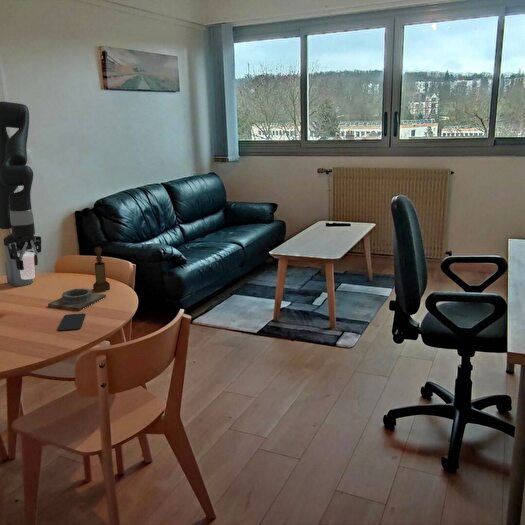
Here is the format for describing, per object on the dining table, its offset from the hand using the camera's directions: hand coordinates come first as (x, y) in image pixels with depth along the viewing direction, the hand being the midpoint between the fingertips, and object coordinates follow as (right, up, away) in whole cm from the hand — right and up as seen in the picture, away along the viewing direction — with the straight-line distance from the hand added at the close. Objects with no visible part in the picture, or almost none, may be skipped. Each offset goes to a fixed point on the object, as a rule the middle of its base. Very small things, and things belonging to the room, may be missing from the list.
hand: (27, 267), depth 191 cm
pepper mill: (+20, -9, +24) cm, 32 cm away
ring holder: (+15, -13, +9) cm, 22 cm away
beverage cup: (0, -4, +1) cm, 4 cm away
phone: (+20, -19, -11) cm, 30 cm away
